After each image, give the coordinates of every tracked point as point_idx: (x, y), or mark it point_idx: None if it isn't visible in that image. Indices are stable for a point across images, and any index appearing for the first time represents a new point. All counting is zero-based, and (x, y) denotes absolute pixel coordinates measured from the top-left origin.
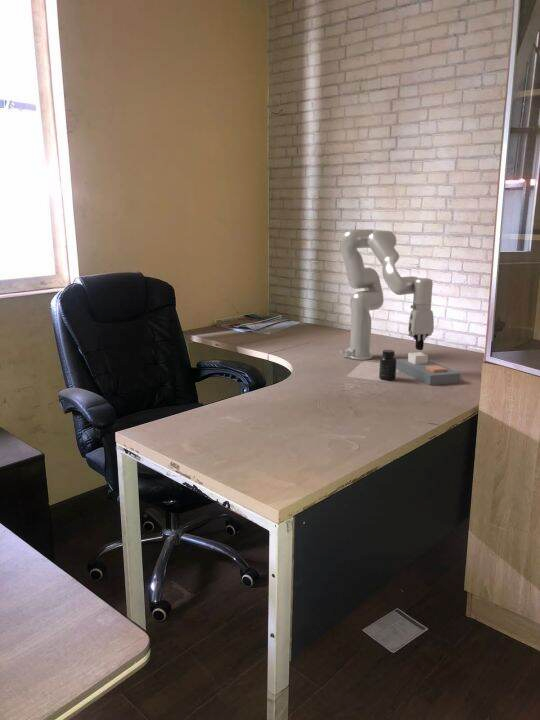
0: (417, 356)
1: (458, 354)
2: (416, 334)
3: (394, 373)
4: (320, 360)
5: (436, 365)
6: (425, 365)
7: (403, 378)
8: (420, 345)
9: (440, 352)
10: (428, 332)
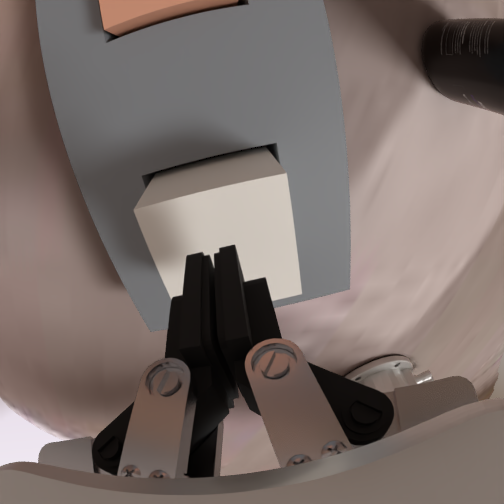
0: (263, 174)
1: (32, 397)
2: (451, 413)
3: (458, 19)
4: (480, 329)
5: (120, 23)
6: (191, 103)
7: (375, 36)
8: (229, 283)
9: (80, 419)
10: (57, 502)
